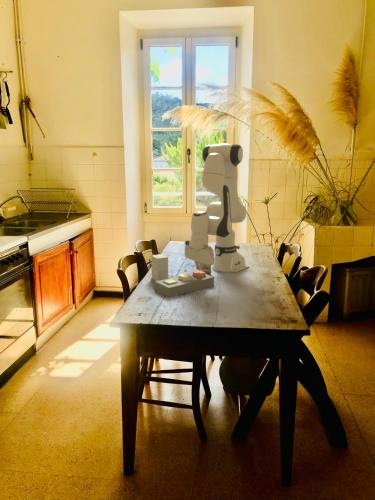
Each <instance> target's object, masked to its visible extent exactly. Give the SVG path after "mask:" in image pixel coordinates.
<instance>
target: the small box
mask: <svg viewBox="0 0 375 500" xmlns="http://www.w3.org/2000/svg"><path fill="white" fill-rule="evenodd" d="M168 278H169V257H168V256H166V255H164V254H162V253H161V254H160V253H159V254H151V279H152V280H153V281H154V282H155V281H159V280H163V279H168Z"/></svg>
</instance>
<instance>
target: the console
mask: <svg viewBox="0 0 375 500" xmlns="http://www.w3.org/2000/svg"><path fill="white" fill-rule="evenodd" d="M188 274H189V275H191V276H192V280H189V281H185V282H184V281H181V280H179V279H178V276H174V277H168V279H163V280H159V281H155V280H154V290H155V291H156V292H158V291H159V292H158V293H160V294H163V296H166V297H169V298H171V297H175V296H178V295H181V294H185V293H191V292H193V291H197V290H201V289H202V290H203V289H206V288H209V287H214V286H215V276H214V275H213V276H212V275H210V274H208V275H207V274H206V277H202V278H196V277H194V276H193V272H191V273H188ZM170 279H173V280H175V281H177V283H176V284H172V285H167V284H165V283H164V282H163V281H165V280H170Z"/></svg>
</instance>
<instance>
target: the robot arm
mask: <svg viewBox="0 0 375 500" xmlns="http://www.w3.org/2000/svg"><path fill="white" fill-rule="evenodd" d="M201 156H202V160H203V162H204V165H203V170H202V171H203V172H202V186H203V188H204V189H205V190H206V191H208V192H209V193H211V194H213V195H215V196H216V197H218V198H219V201H213V202H210V203H209V204H208V205H207V207H206V211H205V210H197V211H194V212H193V213H192V214H191V215H192V216H191V223H190V230H191V235H190V239H187V240H185V241H184V245H185V246H184V257H185V258H186V259H189V260H192V261H194V264H195V270H196V271H199V270H200V271H201V270H202V267H203V265H204V264H206V265H211V270H214V271H216V272H223V273H237V272H240V271H243V270H245V269H248V268H250V266H249V264H247V263H246V259H245V256H243V255H242V254H241V253H240V252H238V250H239V249H241V245H238V244H236V243H235V242H236V233H235V230H234V229H233V224H237V223H238V224H239V223H243V222H244V221H245V220H246V217H247V212H248V211H247V209H246V207H245V205H243V203H242V201H241V200H240V198H239V193H238V174H239V173H238V165H240V164H241V162H242V160H243V157H244V150H243V148H242V146H241V145H240V144H237V143H233V144H232V143H216V144H212V143H211V144H207V145H205V147H204V148H203V149H202V155H201ZM209 235H210V236H215V244H214V249H213V248H212V246H209ZM235 244H236V245H235ZM237 249H238V250H237Z"/></svg>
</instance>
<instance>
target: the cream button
mask: <svg viewBox="0 0 375 500" xmlns="http://www.w3.org/2000/svg"><path fill="white" fill-rule="evenodd" d="M189 274H190V273H181V274H178V279H179V280H181V281H184V282H185V281H189V280H192V276H191V275H189Z"/></svg>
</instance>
